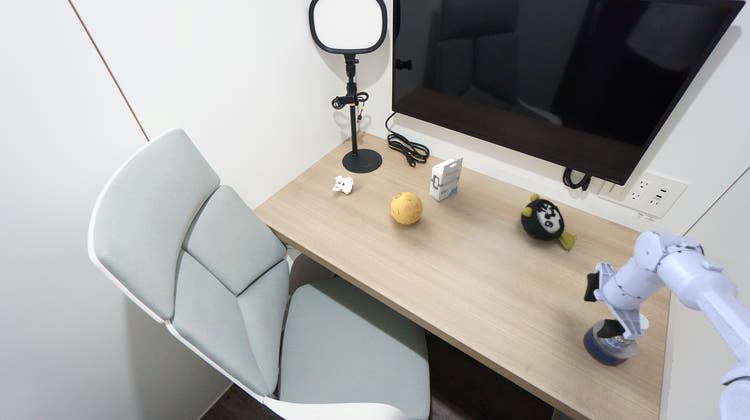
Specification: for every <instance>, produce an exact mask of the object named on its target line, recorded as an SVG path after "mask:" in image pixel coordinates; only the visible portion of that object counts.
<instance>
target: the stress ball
mask: <svg viewBox="0 0 750 420" xmlns="http://www.w3.org/2000/svg"><path fill="white" fill-rule="evenodd" d="M423 210H424V206H423V202H422V200H421V199H420V197H419V196H418V195H417V194H415V193H413V192H409V191H405V192H404V191H403V192H399V193H397V194H396V195H395V196H394V197H393V199H392V200H391V203H390V216H391V217H392V218H393V219H394V220H395V221H396V222H397V223H399V224H402V225H413V224H415V223H416V222H417V221H418V220H419V219H420V218H421V216H422V214H423V212H424V211H423Z"/></svg>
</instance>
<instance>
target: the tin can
mask: <svg viewBox="0 0 750 420" xmlns="http://www.w3.org/2000/svg"><path fill="white" fill-rule="evenodd" d="M604 320H605V319H600V320H597V321H596V322H594V324H593V325H592V326H591V327H590V328H589V329H588V330H587V331H586V332H585V334H584V335H583V338H582V339H583V346H584V347H585V350H586V352H587V353H588V354H589V356H590V357H592V358H593V359H594V360H595V361H597V362H598V363H600V364H601V365H604V366H607V367H618V366H621V365H622V364H624V363H625V362H627V361H628V360H629V359H631V358H633V357H635V355H636V354H637V352H638V343H637V340H636V341H634V342H633V343H632V344H630V345H629V346H628V347H626V348H624V349H619V348H616V347H613V346H612V345H610V344H609V343H608V342H607V341H606V340H605V338H598V337H597V332H598V331H599V330H600V329H601V328H602V327H603V325H604Z"/></svg>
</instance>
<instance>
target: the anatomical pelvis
mask: <svg viewBox="0 0 750 420" xmlns="http://www.w3.org/2000/svg"><path fill="white" fill-rule="evenodd" d="M353 179H354V178H353V177H343V176H342V175H338V176H336V177H335V183H336V184H335V187H333V188H332V191H333V192H334V191H336V192H340V191H341V192H343V193H345V194H346V195H348V194H350V193H351V191H352V188H353V186H354V180H353Z"/></svg>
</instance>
